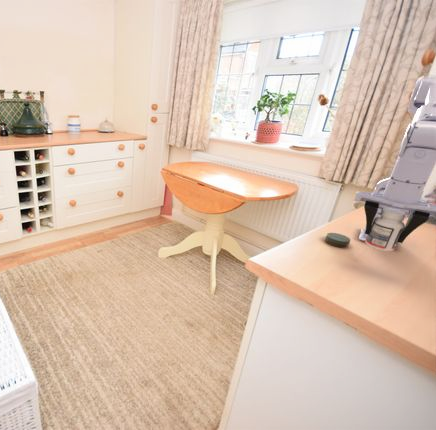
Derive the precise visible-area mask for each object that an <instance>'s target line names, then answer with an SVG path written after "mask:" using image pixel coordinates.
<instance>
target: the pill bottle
mask: <svg viewBox="0 0 436 430" xmlns="http://www.w3.org/2000/svg"><path fill="white" fill-rule="evenodd" d="M380 215H381V216H380V217H376V218H375V219H374V221H373V223H372V226H371V229H370V232H369V234H368V236H367V238H366V241H364V242H365V245H367V246H368V247H370V248H372V249H376V250H378V251H383V252H392V251H393V252H394V250H395V249H396V247H397V245H398V243H399V242H398V240H399V238H400V236H401V234H402V232H403V229H404V227H405V225H406V224H405V223H404V221H403V222H402V221H401V220H403V219H404V217H405V215H406V213H405V212H403V211H400V210H397V209H391V208H383V209H382V211H381V213H380ZM404 220H405V219H404Z"/></svg>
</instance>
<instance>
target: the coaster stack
mask: <svg viewBox="0 0 436 430" xmlns="http://www.w3.org/2000/svg"><path fill="white" fill-rule="evenodd" d="M324 242H325V243H326V244H328V245H330V246H332V247H335V248H340V249H348V247H349V246H350V243H351V238H350V237H348V236H347V235H345V234H341V233H337V232H328V233H326V235H325V237H324Z"/></svg>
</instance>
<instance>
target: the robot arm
mask: <svg viewBox="0 0 436 430" xmlns="http://www.w3.org/2000/svg"><path fill="white" fill-rule="evenodd" d="M407 108H408V109H407V112H408V113H410V114H412V115H414V118H413V120H412V122H410V123H409V124H408V126H407V129H406V131H405V134H404V136H403V138H402V140H401V144H400V150H399V153H398V155H397V157H398V158H397V159H396V161H395V164H394V167H393V168H392V172H391V173H390V176H389V177H388V178H385V179H381V180H379V181H378V182H377V183H376V185H375V187H374V189H373V191H372V192H369V191H368V192H367V191H360V190H358V191H357V192H356V195H355V198H354V201H356V202H364V205H363V207H364V208H363V209H364V214H365V222H366V223H365V226H364V228H362V229H361V230H360V233H359V237H358V240H359V241H362V242H365V241H366V238H367V236H368V234H369V232H370V229H371V226H372V223H373V221H374V219H375V218H376V217H380V216H381V215H380V213H381V211H382V209H383V208H391V209H397V210H400V211H403V212H405V213H406V215H405V217H404V219H403V220H401V221H402V222H403V223H404V221H405V219H407V220H406V223H405V224H404V225H405V227H404V229H403V232H402V234H401V236H400V238H399V240H398V243H399V244H403V242H404V241H405V240H406V239H407V238H408V236H409V235H410V234H411V233H413V232H414V231H415V230H416V229H418V228H419V227H420V226H422V225H424V224H425V223H426V222H428V221H429V220H430V216H434V217H435V218H436V204H433V203H429V202H425V201H422V196H423V194H424V189H425V187H426V185H427V183H428V181H429V179H430V176H431V174H432V172H433V171H434V168H435V166H436V75H435V76H433V75H432V76H430V75H429V76H426V75H421V76H420V77H418V79H417V81H416V83H415V85H414V88H413V91H412V93H411V96H410V98H409V103H408V106H407ZM407 217H408V218H407Z"/></svg>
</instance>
